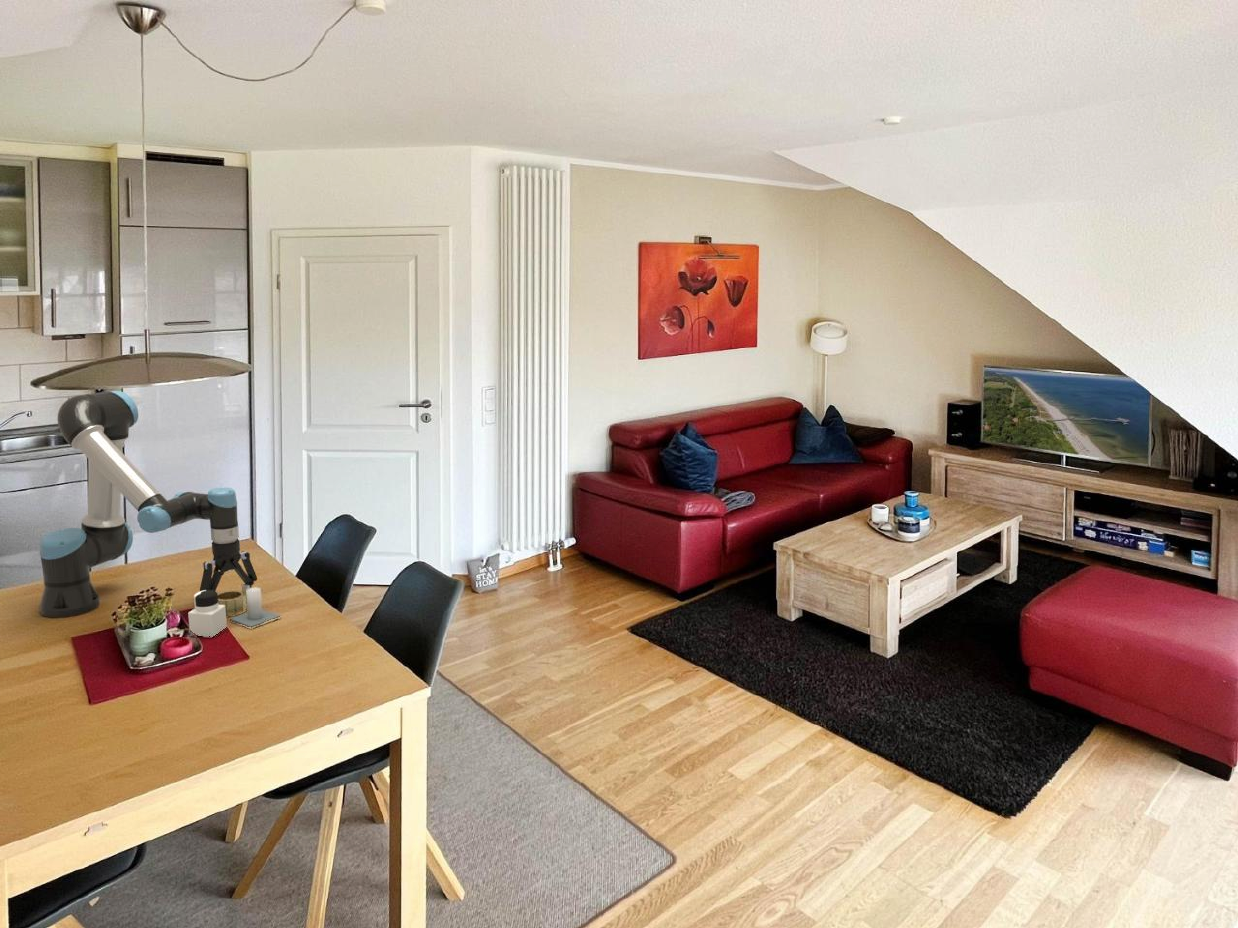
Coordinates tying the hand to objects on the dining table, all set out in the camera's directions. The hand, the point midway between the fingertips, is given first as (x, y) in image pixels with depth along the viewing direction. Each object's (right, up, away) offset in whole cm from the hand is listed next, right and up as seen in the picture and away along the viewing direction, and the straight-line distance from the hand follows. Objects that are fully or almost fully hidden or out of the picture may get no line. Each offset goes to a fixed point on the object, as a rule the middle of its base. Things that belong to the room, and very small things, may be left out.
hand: (230, 610), depth 264 cm
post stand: (+10, -2, -6) cm, 12 cm away
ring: (0, 0, 0) cm, 0 cm away
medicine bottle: (0, -4, -15) cm, 16 cm away
